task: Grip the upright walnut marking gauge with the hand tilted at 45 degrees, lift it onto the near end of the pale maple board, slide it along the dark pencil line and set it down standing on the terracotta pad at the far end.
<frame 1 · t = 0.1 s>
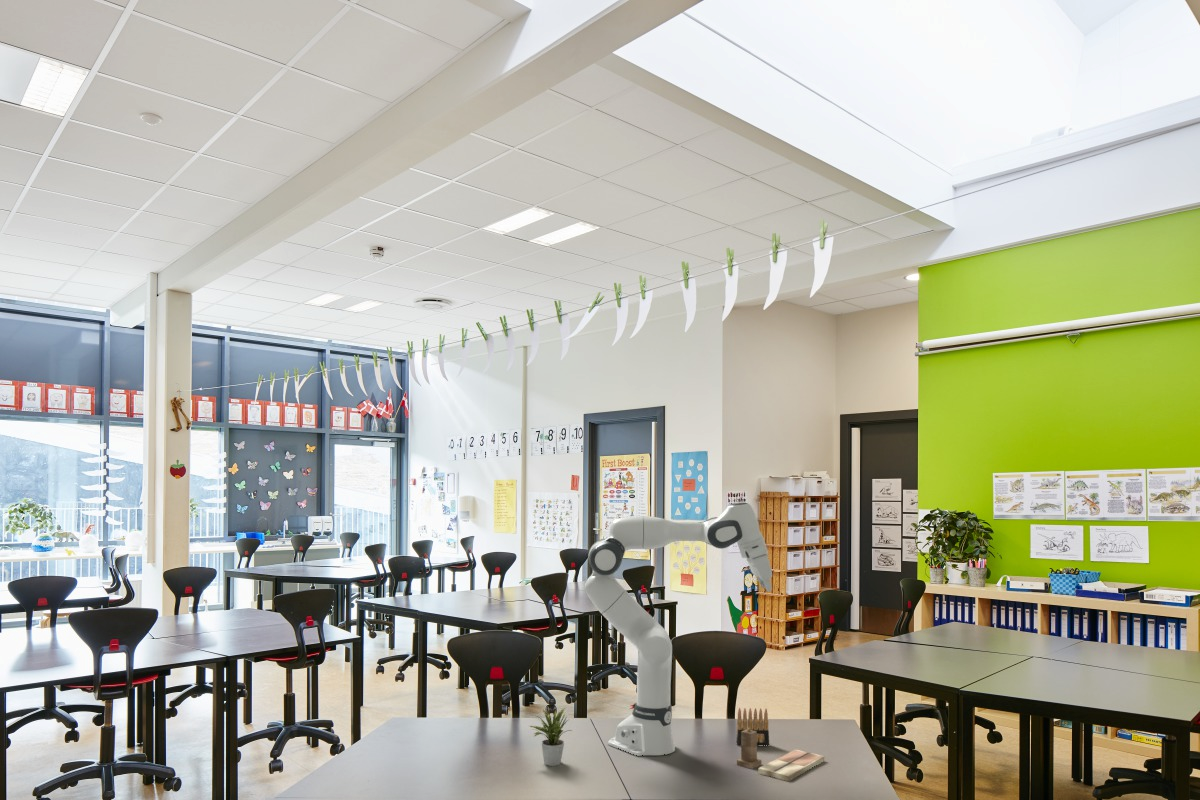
hand: (766, 589, 279), 52 cm above the table, tool tilted 20°, fingers open, 8 cm apart
ammunition clip: (752, 745, 280), on the table
house plant: (552, 762, 261), on the table
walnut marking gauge: (749, 764, 261), on the table
maple board: (792, 767, 259), on the table
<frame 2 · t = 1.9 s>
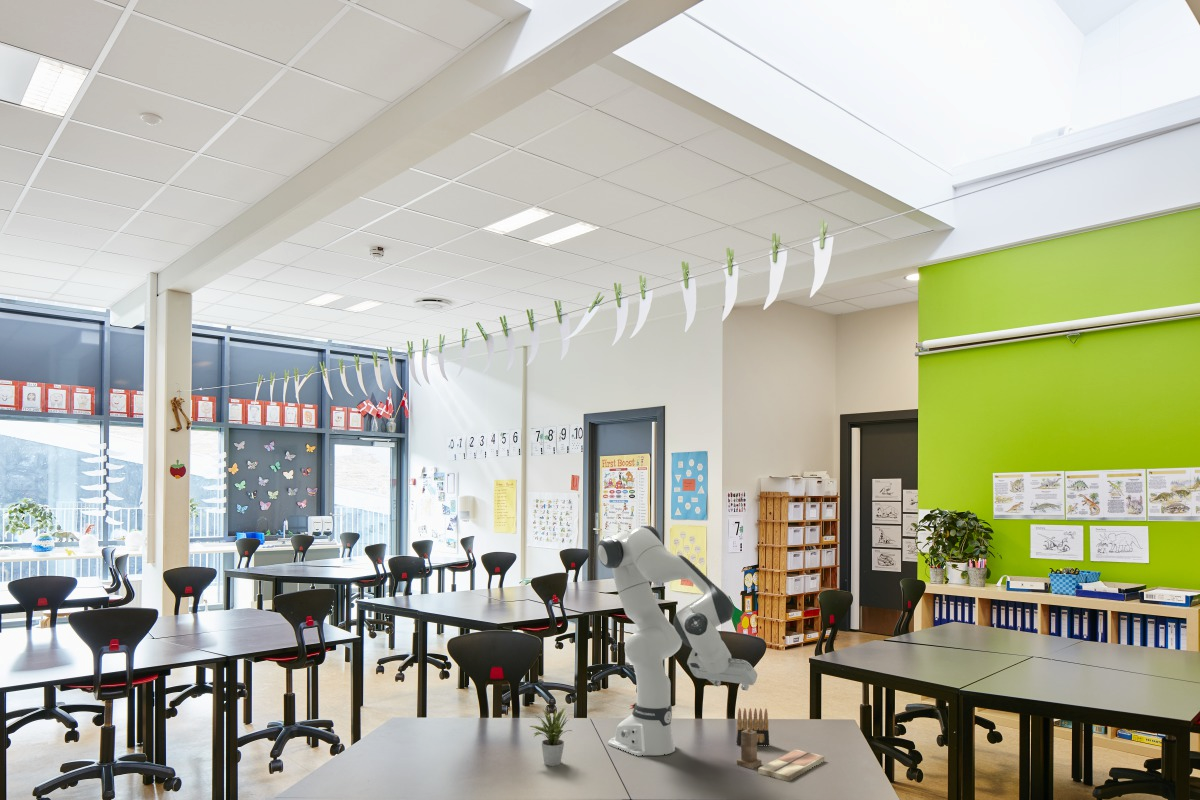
hand: (731, 686, 253), 26 cm above the table, tool tilted 45°, fingers open, 8 cm apart
nothing on the table moved.
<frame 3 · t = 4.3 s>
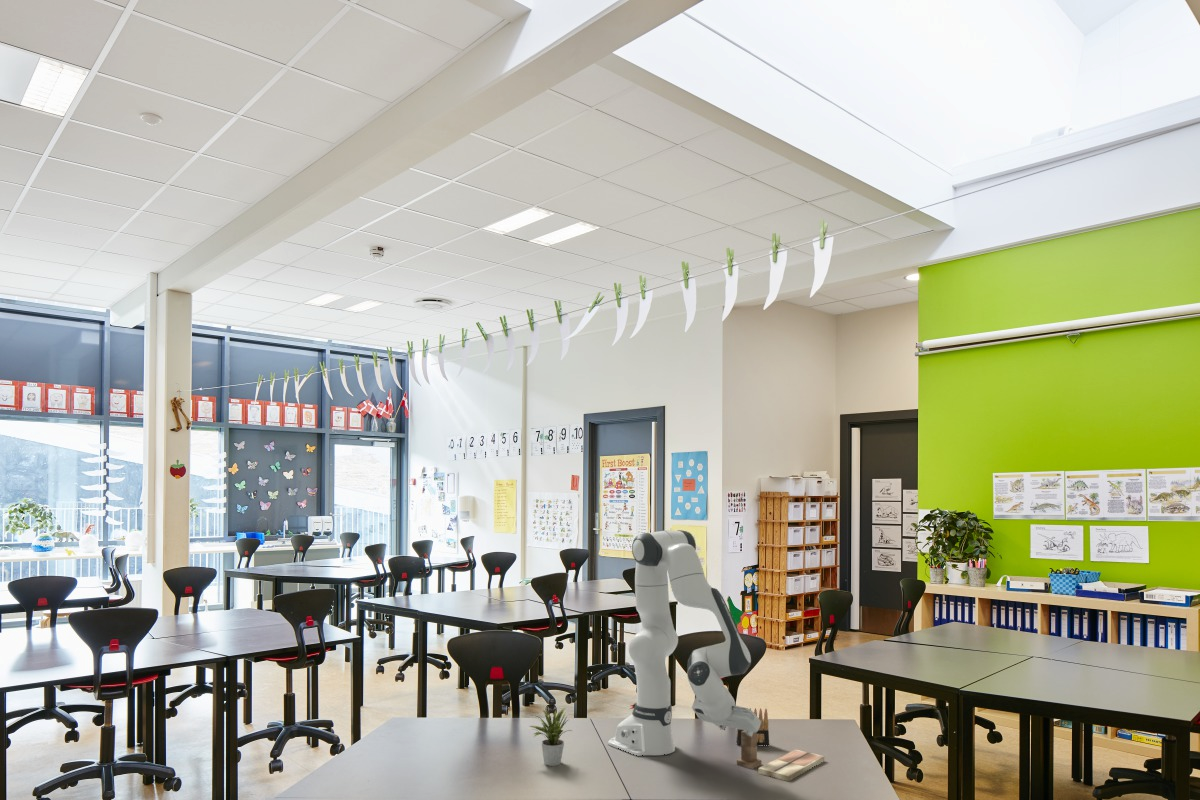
hand: (736, 731, 256), 12 cm above the table, tool tilted 45°, fingers open, 8 cm apart
nothing on the table moved.
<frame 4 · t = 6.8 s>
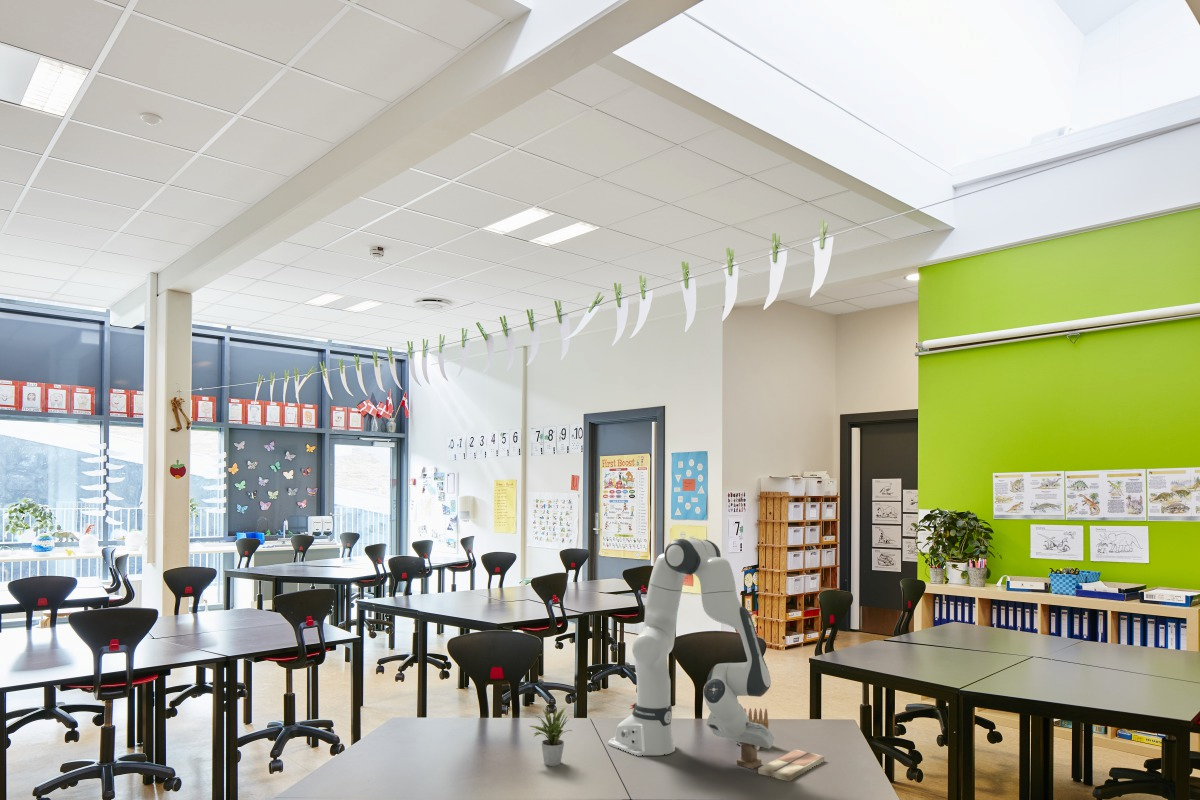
hand: (750, 746, 262), 5 cm above the table, tool tilted 45°, fingers closed on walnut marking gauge, 3 cm apart
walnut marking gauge: (749, 764, 261), on the table, touching gripper
everything else where it was.
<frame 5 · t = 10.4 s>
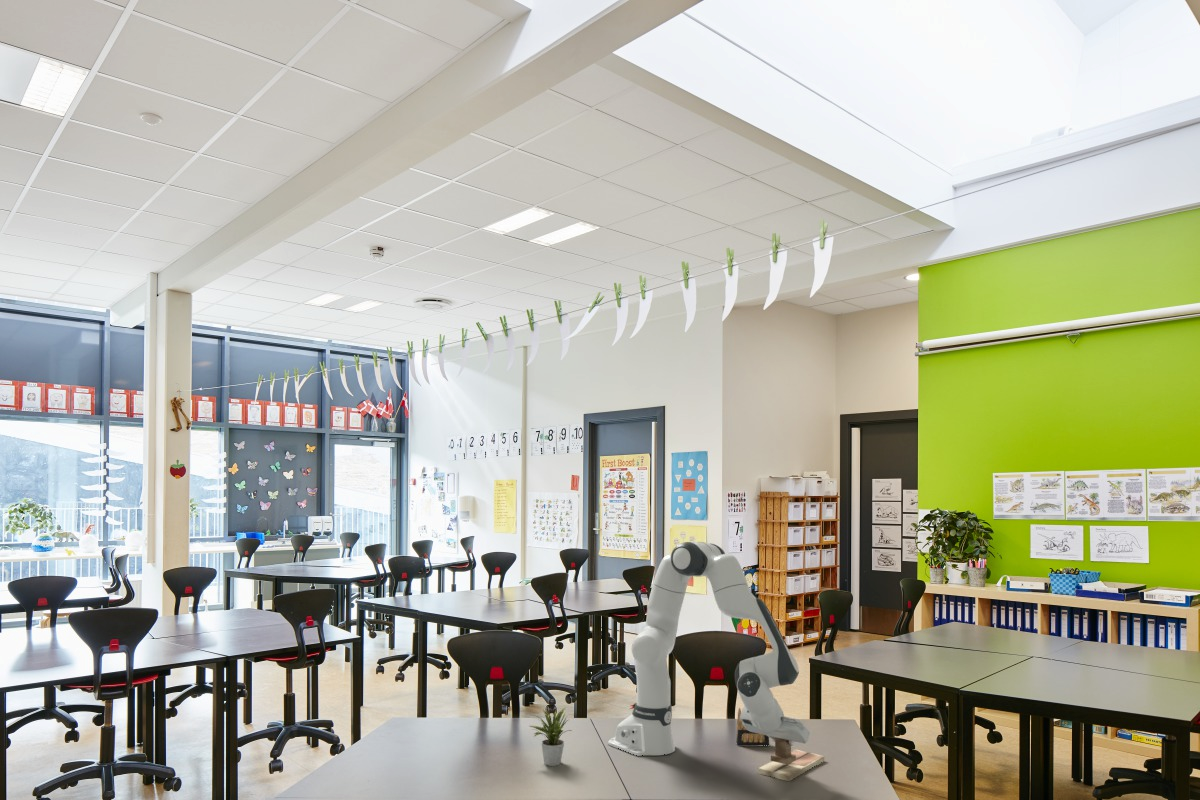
hand: (784, 741, 256), 9 cm above the table, tool tilted 45°, fingers closed on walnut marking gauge, 3 cm apart
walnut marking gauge: (783, 760, 255), point 3 cm above the table, touching gripper
everything else where it was.
when the fingers open (8 cm above the table, at t = 13.8 s): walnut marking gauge stays where it is, resting on maple board.
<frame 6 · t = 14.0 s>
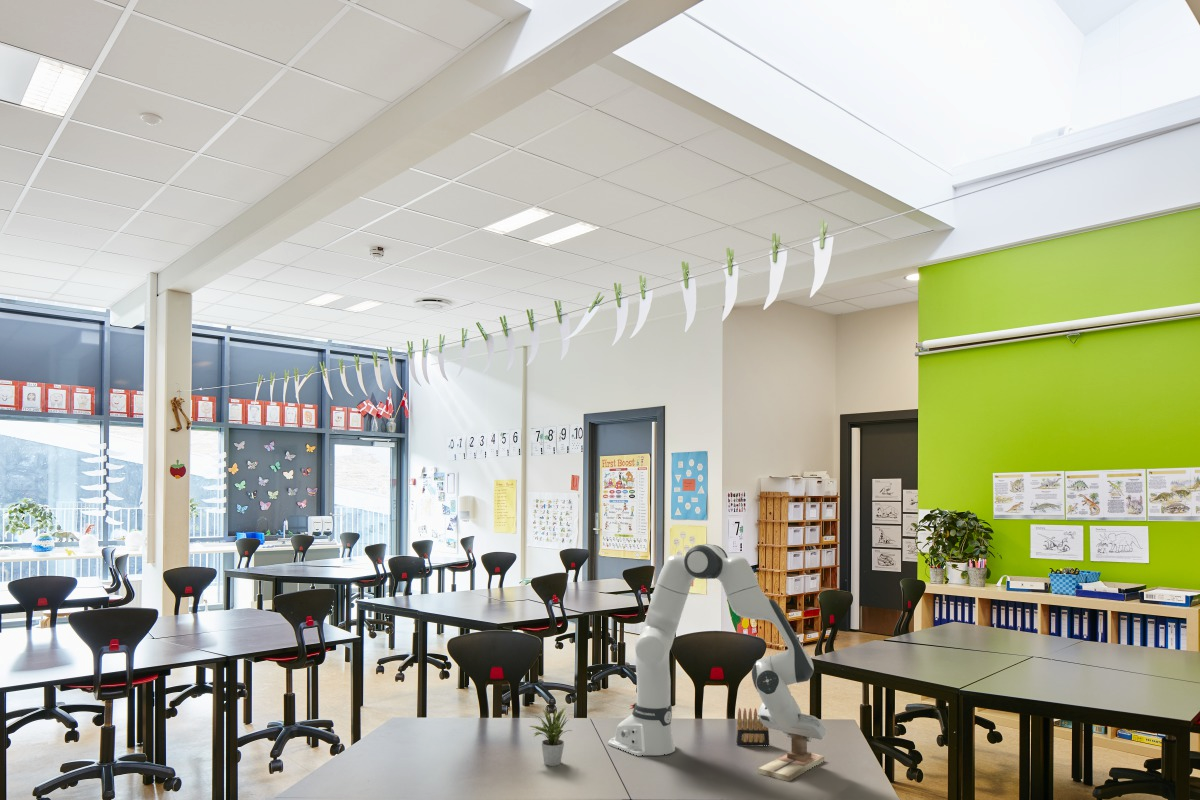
hand: (800, 737, 264), 8 cm above the table, tool tilted 45°, fingers open, 5 cm apart
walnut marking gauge: (799, 757, 263), point 2 cm above the table, touching maple board
everything else where it was.
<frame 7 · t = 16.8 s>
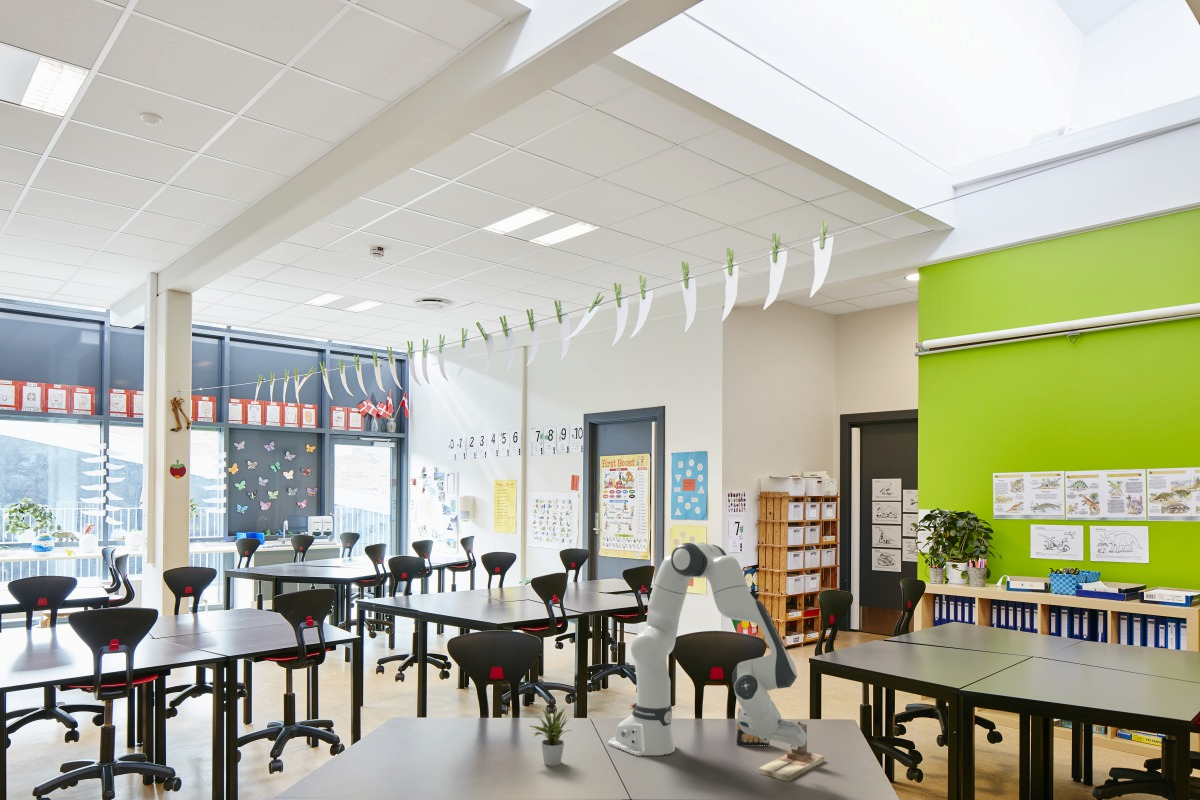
hand: (781, 744, 255), 8 cm above the table, tool tilted 45°, fingers open, 8 cm apart
nothing on the table moved.
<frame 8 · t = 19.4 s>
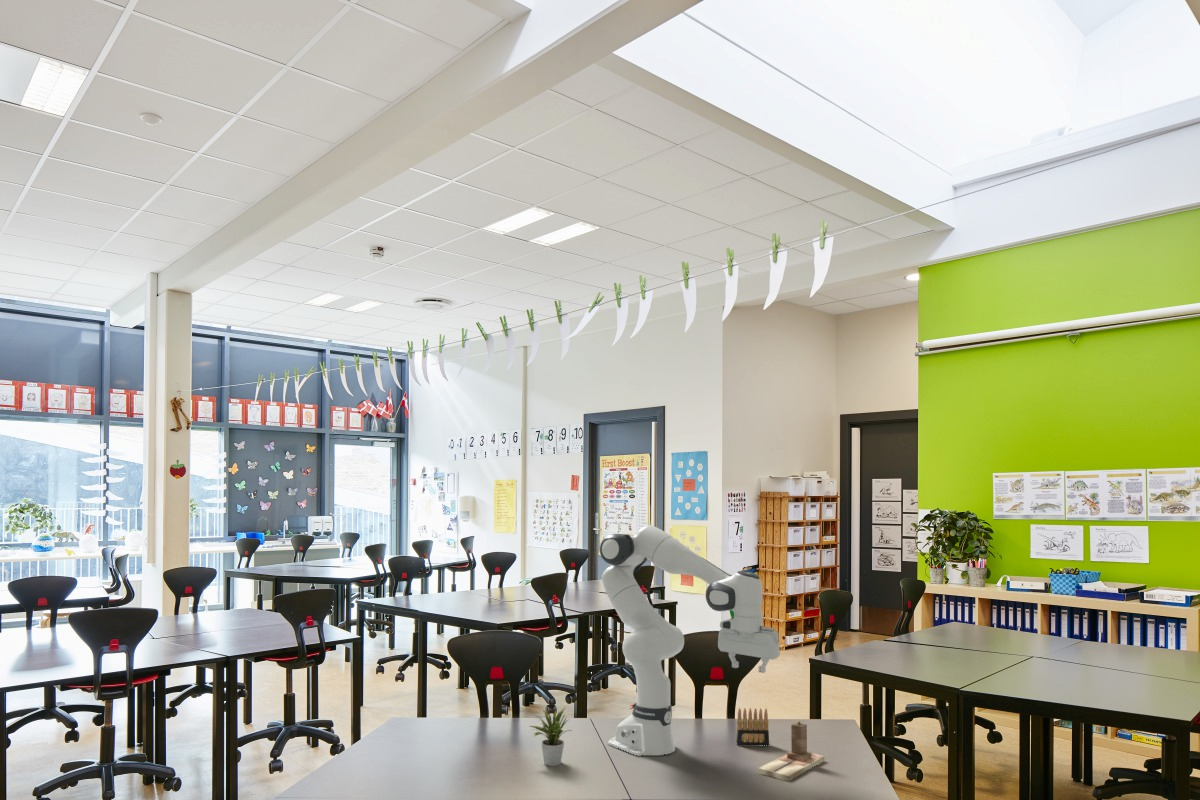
hand: (748, 669, 261), 29 cm above the table, tool pointing down, fingers open, 8 cm apart
nothing on the table moved.
at the end: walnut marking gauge inside the target area (0.4 cm from its centre), point 1.7 cm above the table; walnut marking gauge tilted 0°; the gripper is holding nothing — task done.
